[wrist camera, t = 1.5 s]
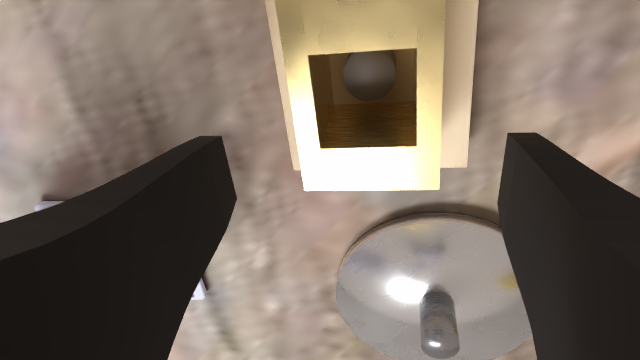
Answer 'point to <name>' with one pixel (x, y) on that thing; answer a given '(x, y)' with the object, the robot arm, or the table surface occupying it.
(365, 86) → the stand
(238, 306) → the table surface
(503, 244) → the hub
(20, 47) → the table surface
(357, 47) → the gold open box
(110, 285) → the robot arm
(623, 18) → the table surface
